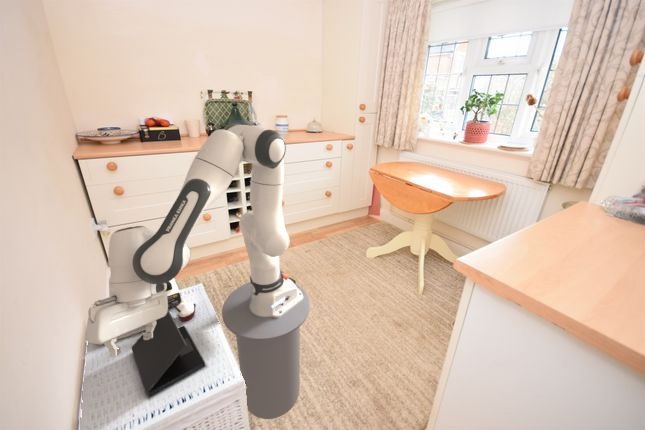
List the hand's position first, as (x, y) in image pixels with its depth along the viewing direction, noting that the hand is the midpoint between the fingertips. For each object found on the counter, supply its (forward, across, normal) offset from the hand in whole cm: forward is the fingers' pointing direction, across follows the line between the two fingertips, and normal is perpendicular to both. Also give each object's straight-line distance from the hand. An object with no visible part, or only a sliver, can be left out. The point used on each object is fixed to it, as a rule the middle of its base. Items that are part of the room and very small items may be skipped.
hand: (132, 346), depth 73 cm
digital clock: (+8, +25, +30) cm, 40 cm away
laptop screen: (+8, +17, +9) cm, 21 cm away
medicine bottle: (+2, +41, +25) cm, 48 cm away
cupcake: (+6, +37, +14) cm, 40 cm away
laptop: (+14, +21, +9) cm, 27 cm away
